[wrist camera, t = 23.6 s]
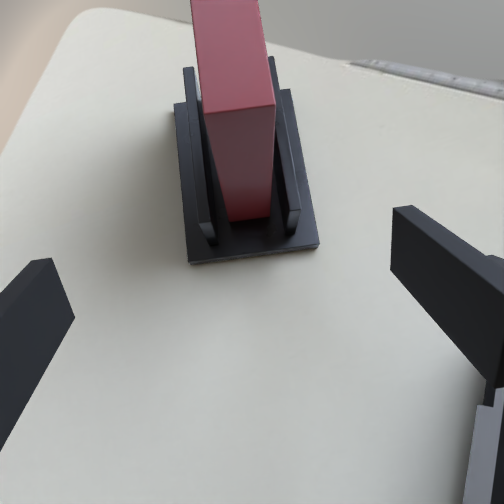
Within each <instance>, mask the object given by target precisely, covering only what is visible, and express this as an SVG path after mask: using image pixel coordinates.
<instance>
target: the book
mask: <svg viewBox="0 0 504 504" xmlns="http://www.w3.org/2000/svg"><path fill="white" fill-rule="evenodd" d="M190 4H191V12H192V21H193V30H194V39H195V47H196V56H197V64H198V73H199V82H200V90H201V99H202V108H203V115H204V119H205V123H206V128H207V132H208V136H209V140H210V145H211V149H212V153H213V157H214V161H215V166H216V170H217V174H218V178H219V182H220V187H221V191H222V195H223V199H224V203H225V208H226V212H227V216H228V220H229V222H234V221H241V220H249V219H256V218H263V217H270V207H271V189H272V170H273V152H274V133H275V115H276V101H275V95H274V90H273V84H272V79H271V73H270V67H269V62H268V56H267V50H266V45H265V39H264V34H263V28H262V23H261V17H260V11H259V6H258V0H190Z"/></svg>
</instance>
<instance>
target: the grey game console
mask: <svg viewBox="0 0 504 504" xmlns="http://www.w3.org/2000/svg"><path fill="white" fill-rule="evenodd" d="M463 504H504V388H498V389H493V387H492V386H491V385H490V384H489V383H488V382H487V381H486V387H485V394H484V401H483V405H478V404H477V411H476V418H475V424H474V431H473V438H472V444H471V451H470V458H469V464H468V471H467V478H466V484H465V491H464V498H463Z"/></svg>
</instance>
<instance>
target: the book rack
mask: <svg viewBox="0 0 504 504" xmlns="http://www.w3.org/2000/svg"><path fill="white" fill-rule="evenodd" d="M268 62H269V67H270V73H271V79H272V84H273V90H274V95H275V101H276V115H275V133H274V152H273V170H272V189H271V207H270V217H263V218H256V219H249V220H241V221H234V222H229V220H228V216H227V212H226V208H225V203H224V199H223V195H222V191H221V187H220V182H219V178H218V174H217V170H216V166H215V161H214V157H213V153H212V149H211V145H210V140H209V136H208V132H207V128H206V123H205V119H204V115H203V108H202V100H201V96H200V92H199V88H198V83H197V79H196V75H195V70H194V67H186V68H183V75H184V85H185V95H186V102H184V103H176V104H174V115H175V126H176V137H177V148H178V159H179V169H180V180H181V191H182V202H183V213H184V224H185V235H186V246H187V257H188V262H189V264H190V265H193V264H201V263H208V262H215V261H223V260H230V259H237V258H245V257H252V256H259V255H267V254H274V253H281V252H289V251H296V250H303V249H310V248H317V247H318V246H319V244H320V243H319V237H318V232H317V227H316V222H315V217H314V211H313V206H312V201H311V196H310V191H309V185H308V180H307V175H306V170H305V164H304V159H303V154H302V149H301V144H300V138H299V133H298V128H297V123H296V118H295V112H294V107H293V102H292V97H291V91H290V89H283V90H280V88H279V83H278V77H277V72H276V66H275V61H274V57H273V56H270V57H268Z"/></svg>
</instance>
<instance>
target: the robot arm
mask: <svg viewBox="0 0 504 504" xmlns="http://www.w3.org/2000/svg"><path fill="white" fill-rule="evenodd" d="M390 270H391V271H392V273H393V274H394V275H395V276H396V277H397V278H398V280H399V281H400V282H401V283H402V284H403V285H404V286H405V288H406V289H407V290H408V291H409V292H410V293H411V294H412V296H413V297H414V298H415V299H416V300H417V301H418V302H419V304H420V305H421V306H422V307H423V308H424V309H425V311H426V312H427V313H428V314H429V315H430V316H431V317H432V319H433V320H434V321H435V322H436V323H437V324H438V325H439V327H440V328H441V329H442V330H443V331H444V332H445V333H446V335H447V336H448V337H449V338H450V339H451V340H452V341H453V343H454V344H455V345H456V346H457V347H458V348H459V350H460V351H461V352H462V353H463V354H464V355H465V356H466V358H467V359H468V360H469V361H470V362H471V363H472V364H473V366H474V367H475V368H476V369H477V370H478V371H479V372H480V374H481V375H482V376H483V377H484V378H485V379H486V381H487V382H488V383H489V384H490V385H491V386H492V387H493V389H498V388H504V259H502V258H499V257H497V256H494V255H488V256H485V255H484V254H483V253H481V252H480V251H478V250H477V249H475V248H474V247H472V246H471V245H469V244H468V243H467V242H465V241H464V240H462V239H461V238H459V237H458V236H456V235H455V234H454V233H452V232H451V231H449V230H448V229H446V228H445V227H443V226H442V225H441V224H439V223H438V222H436V221H435V220H433V219H432V218H430V217H429V216H428V215H426V214H425V213H423V212H422V211H420V210H419V209H417V208H416V207H414V206H413V205H409V206H402V207H395V208H393V217H392V241H391V265H390ZM74 319H75V316H74V313H73V311H72V308H71V306H70V303H69V301H68V298H67V296H66V293H65V290H64V288H63V285H62V283H61V280H60V278H59V275H58V272H57V270H56V267H55V265H54V262H53V260H52V258H46V259H39V260H32V261H30V263H29V264H28V265H27V266H26V267H25V268H24V269H23V270H22V271H21V272H20V273H19V274H18V275H17V276H16V277H15V278H14V279H13V280H12V281H11V282H10V284H9V285H8V286H7V287H6V288H5V289H4V290H3V291H2V292H1V293H0V451H1V449H2V447H3V446H4V444H5V442H6V440H7V438H8V437H9V435H10V433H11V431H12V430H13V428H14V426H15V424H16V422H17V421H18V419H19V417H20V415H21V413H22V412H23V410H24V408H25V406H26V404H27V403H28V401H29V399H30V397H31V396H32V394H33V392H34V390H35V388H36V387H37V385H38V383H39V381H40V379H41V378H42V376H43V374H44V372H45V370H46V369H47V367H48V365H49V363H50V362H51V360H52V358H53V356H54V354H55V353H56V351H57V349H58V347H59V345H60V344H61V342H62V340H63V338H64V337H65V335H66V333H67V331H68V329H69V328H70V326H71V324H72V322H73V320H74Z"/></svg>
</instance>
